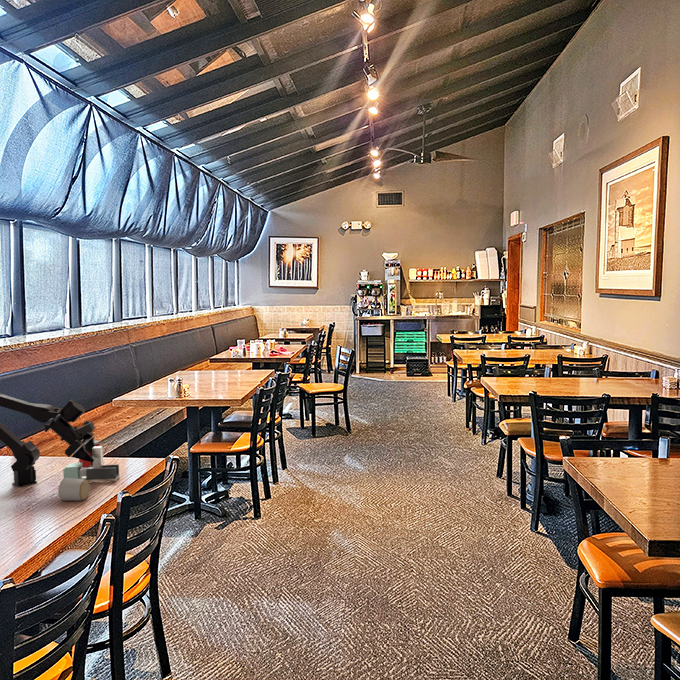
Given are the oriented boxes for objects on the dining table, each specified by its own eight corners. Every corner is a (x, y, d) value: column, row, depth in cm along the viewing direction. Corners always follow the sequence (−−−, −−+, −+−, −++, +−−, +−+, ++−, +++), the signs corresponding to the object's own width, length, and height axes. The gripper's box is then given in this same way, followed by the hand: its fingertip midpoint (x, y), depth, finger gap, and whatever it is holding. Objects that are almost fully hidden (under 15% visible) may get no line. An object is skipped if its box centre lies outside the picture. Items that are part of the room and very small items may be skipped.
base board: (119, 476, 227) (119, 474, 227) (115, 481, 221) (115, 479, 221) (67, 479, 224) (67, 477, 224) (62, 484, 218) (62, 481, 218)
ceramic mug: (81, 503, 197) (81, 481, 197) (57, 503, 197) (57, 481, 197) (95, 493, 208) (94, 472, 207) (72, 493, 208) (72, 472, 207)
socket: (82, 476, 224) (81, 462, 224) (77, 480, 219) (77, 466, 219) (67, 477, 224) (67, 463, 223) (63, 481, 218) (62, 467, 218)
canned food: (95, 470, 236) (94, 444, 235) (75, 470, 236) (74, 444, 235) (103, 465, 243) (102, 439, 243) (84, 465, 244) (83, 439, 243)
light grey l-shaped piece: (103, 473, 224) (102, 445, 223) (101, 475, 221) (100, 447, 221) (70, 474, 223) (69, 447, 222) (68, 477, 220) (67, 449, 219)
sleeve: (119, 474, 226) (118, 464, 226) (116, 478, 221) (115, 467, 221) (90, 476, 224) (89, 465, 224) (86, 480, 220) (86, 469, 219)
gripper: (73, 420, 211) (105, 449, 213) (88, 411, 229) (117, 437, 232) (51, 442, 210) (83, 471, 213) (67, 431, 229) (97, 457, 231)
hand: (96, 458), depth 222 cm, fingers open, 9 cm apart
